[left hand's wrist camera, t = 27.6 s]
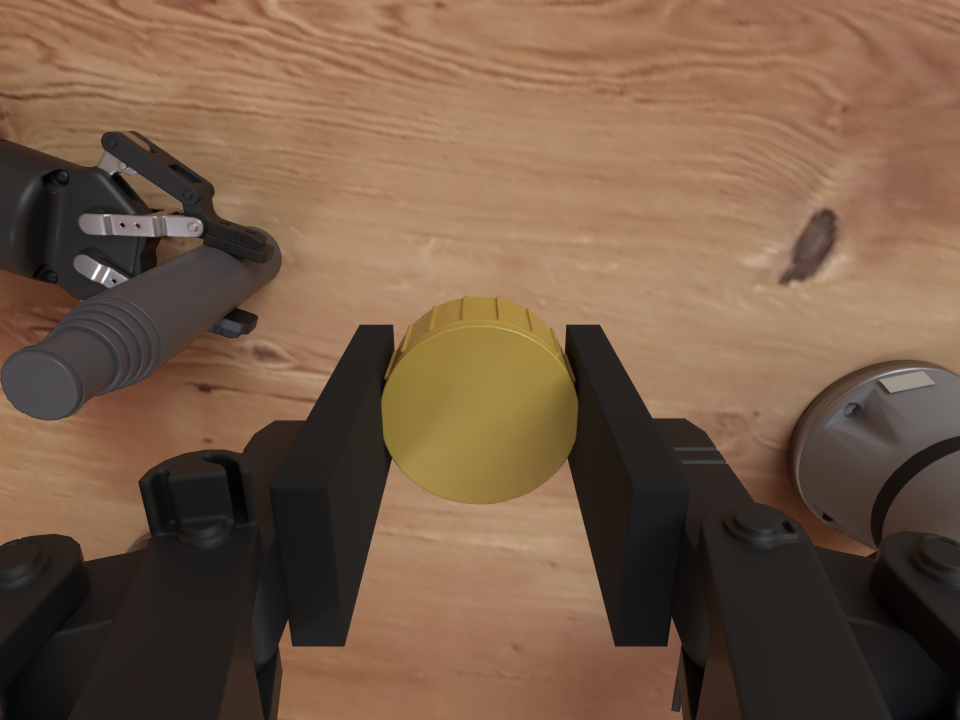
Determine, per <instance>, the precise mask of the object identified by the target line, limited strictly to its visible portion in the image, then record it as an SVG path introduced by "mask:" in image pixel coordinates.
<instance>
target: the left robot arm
mask: <svg viewBox="0 0 960 720" xmlns="http://www.w3.org/2000/svg"><path fill="white" fill-rule="evenodd" d="M393 352H394V332H393V325H359V327H358V329H357V331H356V333H355V334H354V336H353V338H352V340H351V341H350V343H349V345H348V347H347V349H346V350H345V352H344V354H343V356H342V357H341V359H340V361H339V363H338V365H337V366H336V368H335V370H334V372H333V373H332V375H331V377H330V379H329V381H328V382H327V384H326V386H325V388H324V389H323V391H322V393H321V395H320V397H319V398H318V400H317V402H316V404H315V405H314V407H313V409H312V411H311V412H310V414H309V416H308V418H307V420H306V421H274V422H272V423H271V424H269V425H268V426H266V427H265V428H263V429H262V430H260V431H258V432H257V433H255V434H254V436H253V437H252V438H251V440H250V441H249V443H248V444H247V446H246V447H245V448H244V452H243V453H241V454H240V453H236V452H232V451H228V450H201V451H196V452H190V453H185V454H182V455H179V456H176V457H174V458H171V459H168V460H165V461H163V462H162V463H160V464H158V465H157V466H155V467H153V468H152V469H150V470H148V471H147V473H146V474H145V475H144V476H143V477H142V478H141V479H140V480H139V481H138V483H139V487H140V491H141V495H142V499H143V504H144V508H145V512H146V516H147V520H148V524H149V528H150V533H151V538H150V541H149V543H148V545H147V547H146V548H145V549H141V550H137V551H134V552H130V553H125V554H120V555H115V556H110V557H105V558H100V559H95V560H90V561H86V562H85V561H84V557H83V554H82V551H81V547H80V544H79V543H77V542H76V541H75V540H74V539H73V538H71V537H69V536H63V535H58V534H47V535H36V536H29V537H24V538H21V539H19V540H18V539H16V540H13V541H10V542H7V543H5V544H3V545H2V546H0V720H277V715H278V706H279V697H280V688H281V679H282V665H281V658H280V652H279V646H278V644H279V642H280V639H281V636H282V634H283V631H284V628H285V626H286V623H287V620H289V627H290V633H291V640H292V646H345V642H346V638H347V634H348V630H349V627H350V623H351V619H352V615H353V611H354V607H355V603H356V599H357V595H358V591H359V587H360V583H361V579H362V575H363V571H364V567H365V563H366V559H367V555H368V551H369V547H370V543H371V539H372V535H373V532H374V528H375V524H376V520H377V516H378V512H379V508H380V504H381V500H382V496H383V492H384V488H385V484H386V480H387V476H388V472H389V468H390V464H391V460H392V457H391V455H390V454H389V451H388V449H387V447H386V445H385V442H384V436H383V422H382V406H381V397H382V393H383V390H384V386H385V383H386V381H387V380H385V379H384V377H385V374H386V371H387V369H388V366H389V363H390V360H391V357H392V355H393ZM565 354H567V357H568V360H569V363H570V365H571V368H572V371H573V374H574V376H575V379H576V384H574V386H575V389H576V392H577V395H578V415H577V430H576V441H575V443H574V445H573V448H572V450H571V452H570V454H569V456H568V457H567V458H568V462H569V466H570V470H571V474H572V478H573V482H574V486H575V490H576V493H577V497H578V501H579V505H580V509H581V513H582V517H583V521H584V525H585V529H586V533H587V537H588V541H589V545H590V549H591V553H592V557H593V561H594V565H595V569H596V573H597V577H598V581H599V585H600V589H601V592H602V596H603V600H604V604H605V608H606V612H607V616H608V620H609V624H610V628H611V632H612V636H613V640H614V644H615V646H667V644H668V637H669V631H670V624H671V617H672V618H673V621H674V624H675V626H676V629H677V631H678V634H679V637H680V639H681V642H682V646H681V652H680V658H679V664H678V671H677V677H676V683H675V689H674V696H673V702H672V709H671V711H676V712H680V707H681V705H682V714H683V720H960V376H959V375H957V374H955V373H953V372H952V371H950V370H948V369H946V368H944V367H941V366H939V365H936V364H933V363H929V362H924V361H917V360H895V361H888V362H882V363H878V364H874V365H871V366H868V367H865V368H862V369H860V370H858V371H855V372H853V373H851V374H849V375H848V376H846V377H844V378H842V379H841V380H839V381H837V382H836V383H834V384H833V385H832V386H830V387H829V388H828V389H827V390H825V391H824V392H823V393H822V394H821V395H820V396H819V397H818V398H817V399H816V400H815V401H814V402H813V403H812V404H811V405H810V407H809V408H808V409H807V410H806V412H805V413H804V415H803V416H802V417H801V419H800V421H799V423H798V425H797V426H796V429H795V431H794V433H793V436H792V439H791V442H790V447H789V453H788V469H789V475H790V479H791V482H792V484H793V487H794V489H795V491H796V492H797V494H798V495H799V497H800V498H801V499H802V501H803V502H804V503H805V504H806V505H807V507H808V508H809V509H810V510H811V511H812V513H813V514H814V515H815V516H816V517H817V518H819V519H820V520H821V521H822V522H824V523H825V524H827V525H828V526H830V527H832V528H834V529H836V530H838V531H840V532H842V533H844V534H846V535H847V536H849V537H851V538H853V539H855V540H856V541H858V542H860V543H862V544H864V545H866V546H868V547H870V548H872V549H873V550H875V551H876V552H874V553H872V554H871V555H869V556H867V557H863V556H858V555H853V554H848V553H843V552H838V551H833V550H829V549H825V548H821V547H818V546H814V545H813V544H812V542H811V539H810V537H809V535H808V534H807V533H806V531H805V530H804V529H803V528H802V526H801V525H800V524H799V523H798V522H797V521H795V520H794V519H792V518H791V517H789V516H788V515H787V514H785V513H784V512H781V511H779V510H776V509H774V508H772V507H769V506H767V505H764V504H759V503H755V502H754V500H753V499H752V498H751V496H750V495H749V493H748V492H747V490H746V489H745V488H744V486H743V485H742V483H741V482H740V481H739V479H738V478H737V476H736V475H735V473H734V472H733V471H732V469H731V468H730V466H729V465H728V464H726V463H725V459H724V458H723V456H722V455H721V454H720V452H719V451H716V446H715V445H714V444H713V442H712V441H711V439H710V438H709V437H708V435H707V434H706V432H705V431H703V430H702V429H700V428H698V427H697V426H695V425H694V424H692V423H691V422H689V421H688V420H686V419H652V417H651V415H650V413H649V411H648V410H647V408H646V406H645V404H644V403H643V401H642V399H641V397H640V395H639V394H638V392H637V390H636V388H635V387H634V385H633V383H632V381H631V379H630V378H629V376H628V374H627V372H626V371H625V369H624V367H623V365H622V363H621V362H620V360H619V358H618V356H617V355H616V353H615V351H614V349H613V347H612V346H611V344H610V342H609V340H608V339H607V337H606V335H605V333H604V331H603V330H602V328H601V326H600V325H566V343H565Z"/></svg>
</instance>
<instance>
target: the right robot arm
mask: <svg viewBox="0 0 960 720" xmlns="http://www.w3.org/2000/svg"><path fill="white" fill-rule="evenodd" d="M101 143H102V146H103V148H104V149H105V151H104V153H103V155H102V157H101V159H100V161H99V163H98V165H97V166H95V167H82V166H79V165H77V164H74V163H71V162H68V161H65V160H63V159H60V158H57V157H54V156H51V155H48V154H45V153H42V152H40V151H37V150H34V149H31V148H28V147H25V146H22V145H20V144H17V143H14V142H11V141H8V140H5V139H2V138H0V269H3V270H6V271H9V272H12V273H15V274H18V275H21V276H25V277H28V278H31V279H34V280H38V281H43V282H48V283H53V284H56V285H58V286H60V287H62V288H63V289H64V290H66V291H67V292H68V293H69V294H70V295H71V296H73V297H74V298H76V299H79V300H80V301H81V302H83V301H84V300H86V299H88V298H90V297H92V296H94V295H97V294H99V293H101V292H103V291H105V290H107V289H109V288H112V287H114V286H116V285H118V284H120V283H122V282H124V281H126V280H129V279H131V278H133V277H135V276H137V275H139V274H141V273H144V272H146V271H148V270H150V269H152V268H154V267H156V265H157V258H156V248H157V246H158V244H159V242H160V240H161V237H162V236H176V237H198V238H201V239H204V242H203V245H206V246H209V247H212V248H216V249H219V250H221V251H224V252H227V253H230V254H233V255H236V256H239V257H242V258H245V259H248V260H251V261H253V262H257V263H262V264H264V263H267V262H268V261H270V260H271V259H272V258H273V254H274V250H275V247H273V246H272V245H269V244H266V242H267V237H266V236H264V235H263V234H262V233H261V232H258V231H256V230H253V229H250V228H247V227H244V226H241V225H238V224H235V223H232V222H230V221H227V220H224V219H222V218H220V217H219V216H218V215H217V214H216V213H215V211H214V208H213V203H212V198H213V196H214V193H215V191H214V187H213V185H212V184H211V183H210V182H208V181H207V180H205V179H204V178H202V177H201V176H200V175H198V174H197V173H195V172H194V171H192V170H191V169H190V168H188V167H187V166H185V165H184V164H182V163H181V162H179V161H178V160H177V159H175V158H174V157H172V156H171V155H169V154H168V153H166V152H165V151H164V150H162V149H161V148H159V147H158V146H156V145H155V144H153V143H152V142H151V141H149V140H148V139H146V138H145V137H143V136H142V135H141V134H139V133H138V132H135V131H115V132H107V133H105V134H104V135H103V136H102V139H101ZM121 172H122V173H125V174H127V175H137V174H141V175H142V176H143V177H145V178H146V179H148V180H149V181H151V182H152V183H154V184H155V185H157V186H158V187H160V188H161V189H163V190H164V191H166V192H167V193H169V194H170V195H171V196H173V197H174V198H176V199H177V200H179V201H180V202H182V204H183V209H184V210H182V209H179V208H164V207H148V206H147V205H146V204H145V203H144V202H143V200H142V199H141V198H140V197H139V196H138V195H137V193H136V192H135V191H134V190H133V189H132V188H131V186H130V185H129V184H128V183H127V182H126V181H125V180H124V178H123V177H122V176H121V175H120V173H121ZM257 320H258V316H257V315H255V314H253V313H250V312H247V311H244V310H241V309H238V308H235V309H234V310H232V311H231V312H230V313H229V314H227V315H226V316H225V317H223V318H222V319H221V320H220V321H218V322H217V323H216V324H215V325H213V326H212V327H211V328H210V329H208V330H207V331H209V332H212V333H215V334H219V335H222V336H225V337H228V338H238V337H239V336H240V335H241V334H249V333H250V332H251V331H252V330H253V329H254V328H255V327H256V324H257ZM150 538H151V533H149V534H147V535H145V536H143V537H141V538H140V539H138V540H137V541H136V542H135V543H134V544H133V545H132V547H131V548H130V549H129V550H128V552H127V553H130V552H134V551H137V550H141V549H145V548H146V547H147V545H148V543H149V541H150Z"/></svg>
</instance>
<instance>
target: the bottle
mask: <svg viewBox="0 0 960 720" xmlns="http://www.w3.org/2000/svg"><path fill="white" fill-rule="evenodd" d="M246 227H247V228H250V229H253V230H256V231H258V232H261V233H262V234H263V235H264V236H266V237H267V242H266V244H269V245H272V246H273V247H275V250H274V254H273V258H272V259H271V260H270V261H268V262H267V263H264V264H262V263H257V262H253V261H251V260H248V259H245V258H242V257H239V256H236V255H233V254H230V253H227V252H224V251H221V250H219V249H216V248H212V247H209V246H206V245H201V246H199V247H197V248H195V249H193V250H190V251H188V252H186V253H184V254H182V255H180V256H178V257H176V258H173V259H171V260H169V261H167V262H165V263H163V264H161V265H158V266H156V267H154V268H152V269H150V270H148V271H146V272H144V273H141V274H139V275H137V276H135V277H133V278H131V279H129V280H126V281H124V282H122V283H120V284H118V285H116V286H114V287H112V288H109V289H107V290H105V291H103V292H101V293H99V294H97V295H94V296H92V297H90V298H88V299H86V300H84V301H83V302H81V303H80V304H79V305H77V306H76V307H74V308H73V309H71V310H70V311H69V312H68V314H67V315H66V316H65V317H64V318H63V319H62V320H61V321H60V322H59V323H58V324H57V325H56V326H55V328H54V329H53V330H52V331H51V332H50V333H49V334H48V335H47V336H46V338H45V340H43V341H41V342H40V343H38V344H36V345H31V346H27V347H25V348H23V349H21V350H19V351H17V352H15V353H13V354H11V355H10V356H9V357H8V359H7V360H6V361H5V362H4V364H3V367H2V369H1V379H0V380H1V384H2V389H3V391H4V393H5V395H6V396H7V399H8V400H9V401H10V402H11V403H12V404H13V406H14V407H15V408H16V409H18V410H19V411H20V412H22V413H25V414H26V415H28V416H31V417H33V418H36V419H40V420H58V419H62V418H65V417H69V416H71V415H73V414H75V413H76V412H77V411H78V410H79V409H80V408H81V407H82V406H83V404H84V403H86V402H87V401H89V400H90V399H91V398H93V397H94V396H99V395H103V394H106V393H108V392H112V391H115V390H118V389H122V388H124V387H127V386H130V385H133V384H136V383H138V382H139V381H141V380H143V379H145V378H147V377H148V376H150V375H151V374H152V373H154V372H155V371H156V370H158V369H159V368H160V367H161V366H163V365H164V364H165V363H166V362H168V361H169V360H170V359H171V358H173V357H174V356H175V355H177V354H178V353H179V352H180V351H182V350H183V349H184V348H185V347H187V346H188V345H189V344H190V343H192V342H193V341H194V340H196V339H197V338H198V337H199V336H201V335H202V334H203V333H204V332H206V331H207V330H208V329H210V328H211V327H212V326H213V325H215V324H216V323H217V322H218V321H220V320H221V319H222V318H223V317H225V316H226V315H227V314H229V313H230V312H231V311H232V310H234V309H235V308H236V307H237V306H239V305H240V304H241V303H242V302H244V301H245V300H246V299H248V298H249V297H250V296H251V295H253V294H254V293H255V292H256V291H258V290H259V289H260V288H261V287H263V286H264V285H265V284H267V283H268V282H269V281H270V280H272V279H273V278H274V277H275V276H276V275H277V273H278V272H279V269H280V266H281V252H280V249H279V246H278V245H277V243H276V241H275V240H274V239H273V238H272V237H271V236H270V235H269V234H268V233H267V232H265V231H263V230H261V229H259V228H256V227H250V226H246Z"/></svg>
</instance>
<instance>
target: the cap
mask: <svg viewBox="0 0 960 720" xmlns="http://www.w3.org/2000/svg"><path fill="white" fill-rule="evenodd" d="M384 379H385V380H387V381H386V383H385V386H384V390H383V393H382V397H381V406H382V422H383V436H384V442H385V445H386V447H387V449H388V451H389V454H390V455H391V457H392V458H393V460H394V462H395V463H396V465H397V466H398V467H399V468H400V469H401V470H402V472H403V473H404V474H405V475H406V476H407V477H408V478H410V479H411V480H412V481H413V482H414V483H416V484H417V485H419V486H420V487H421V488H423V489H425V490H426V491H428V492H430V493H432V494H434V495H437V496H439V497H442V498H444V499H447V500H451V501H455V502H460V503H467V504H493V503H499V502H504V501H508V500H512V499H515V498H518V497H520V496H523V495H525V494H527V493H529V492H531V491H533V490H534V489H536V488H538V487H540V486H541V485H542V484H543V483H545V482H546V481H547V480H549V479H550V478H551V477H552V476H553V475H554V474H555V473H556V472H557V471H558V470H559V468H560V467H561V466H562V465H563V463H564V462H565V461H566V459H567V457H568V456H569V454H570V452H571V450H572V448H573V445H574V443H575V441H576V430H577V415H578V395H577V392H576V389H575V386H574V384H576V379H575V376H574V374H573V371H572V368H571V365H570V363H569V360H568V357H567V354H565V355H564V354H563V351H562V348H561V346H560V344H559V342H558V340H557V338H556V335H555V332H554V330H553V329H552V328H551V329H549V328H548V326H547V325H546V324H545V323H544V322H543V321H542V320H541V319H539V318H538V317H537V316H536V315H535V314H533V313H532V312H531V309H529V308H527V309H525V308H524V307H521V306H519V305H517V304H515V303H512V302H509V301H506V300H503V299H500V297H496V298H492V297H467V296H464V297H463V298H462V299H457V300H453V301H450V302H447V303H444V304H442V305H440V306H438V307H437V306H436V305H435V306H433V308H432V310H431V311H429V312H428V313H426V314H425V315H423V316H422V317H421V318H420V319H419V320H418V321H416V322H415V323H414V324H413V326H412V325H411V324H410V325H409V326H408V329H407V332H406V334H405V336H404V338H403V339H402V341H401V343H400V345H399V347H398V349H397V351H396V350H394V352H393V355H392V357H391V360H390V363H389V366H388V369H387V371H386V374H385V377H384Z"/></svg>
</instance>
